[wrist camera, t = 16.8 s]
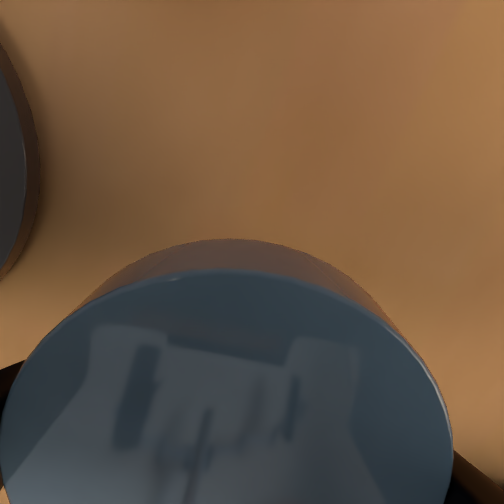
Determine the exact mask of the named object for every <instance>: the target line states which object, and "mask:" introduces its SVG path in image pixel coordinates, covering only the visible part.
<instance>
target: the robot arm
mask: <svg viewBox="0 0 504 504" xmlns="http://www.w3.org/2000/svg"><path fill="white" fill-rule="evenodd" d="M24 362H25V360H23V361H21V362H18V363H16V364H13V365H11V366H8V367H6V368H3V369H1V370H0V424H1V417H2V412H3V408H4V405H5V403H6V400H7V397H8V394H9V391H10V388H11V385H12V383H13V381H14V380H15V378H16V376H17V374H18V372H19V371H20V369H21V367H22V365H23V363H24ZM453 457H454V458H453V466H452V475H451V482H450V485H449V489H448V492H447V495H446V499H445V502H444V504H504V490H503V489H501V488H500V487H499V486H498V485H496V484H495V483H494V482H493V481H492V480H490V479H489V478H488V477H487V476H485V475H484V474H483V473H482V472H480V471H479V470H478V469H477V468H475V467H474V466H473V465H472V464H471V463H469V462H468V461H467V460H466V459H464V458H463V457H462V456H461V455H459V454H458V453H457V452H456V451H454V450H453ZM2 487H3V482H2V476H1V470H0V490H1V489H2Z"/></svg>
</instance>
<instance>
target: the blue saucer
mask: <svg viewBox="0 0 504 504" xmlns="http://www.w3.org/2000/svg"><path fill="white" fill-rule="evenodd" d="M453 458H454V457H453V436H452V429H451V424H450V420H449V415H448V411H447V406H446V404H445V401H444V399H443V396H442V394H441V391H440V389H439V386H438V384H437V382H436V380H435V379H434V377H433V375H432V374H431V372H430V370H429V369H428V367H427V366H426V364H425V362H424V361H423V359H422V358H421V357H420V355H419V354H418V353H417V352H416V350H415V349H414V348H413V347H412V345H411V344H410V343H409V342H408V341H407V339H406V338H405V337H404V336H403V334H402V333H401V332H400V331H399V329H398V328H397V327H396V326H395V325H394V323H393V322H392V321H391V320H390V318H389V317H388V316H387V315H386V313H385V312H384V311H383V310H382V309H381V307H380V306H379V305H378V304H377V303H376V302H375V300H374V299H373V298H372V297H371V296H370V295H369V294H368V293H367V292H366V291H365V290H364V289H363V288H362V287H360V286H359V285H358V284H357V283H356V282H355V281H354V280H353V279H351V278H350V277H348V276H347V275H345V274H344V273H342V272H341V271H339V270H338V269H336V268H335V267H333V266H332V265H330V264H328V263H326V262H324V261H322V260H320V259H318V258H316V257H313V256H311V255H309V254H307V253H304V252H301V251H298V250H295V249H292V248H289V247H286V246H283V245H278V244H273V243H268V242H262V241H257V240H244V239H214V240H201V241H196V242H191V243H186V244H180V245H175V246H172V247H169V248H166V249H163V250H161V251H158V252H155V253H152V254H149V255H147V256H145V257H143V258H141V259H139V260H137V261H135V262H133V263H131V264H129V265H127V266H126V267H124V268H123V269H121V270H120V271H118V272H117V273H115V274H114V275H113V276H111V277H110V278H108V279H107V280H106V281H105V282H104V283H102V284H101V285H100V286H99V287H98V288H97V289H96V290H95V291H94V292H93V293H92V294H91V295H89V296H88V297H87V298H86V299H85V300H84V301H83V302H82V303H81V304H80V305H79V306H78V307H76V308H75V309H74V310H73V311H72V312H71V313H70V314H69V315H68V316H67V317H66V318H65V319H63V320H62V321H61V322H60V323H59V324H58V325H57V326H56V327H55V328H54V329H53V330H52V331H50V332H49V333H48V334H47V335H46V336H45V337H44V338H43V339H42V340H41V341H40V343H39V344H38V345H37V346H36V348H35V349H34V350H33V351H32V353H31V354H30V355H29V356H28V358H27V359H26V360H25V362H24V363H23V365H22V367H21V369H20V371H19V372H18V374H17V376H16V378H15V380H14V381H13V383H12V385H11V388H10V391H9V394H8V397H7V400H6V403H5V405H4V408H3V412H2V417H1V424H0V470H1V476H2V482H3V485H4V488H5V491H6V494H7V497H8V500H9V502H10V504H444V502H445V499H446V495H447V492H448V489H449V485H450V482H451V475H452V466H453Z"/></svg>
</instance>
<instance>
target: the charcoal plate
mask: <svg viewBox="0 0 504 504" xmlns="http://www.w3.org/2000/svg"><path fill="white" fill-rule="evenodd" d="M39 193H40V158H39V149H38V139H37V135H36V130H35V126H34V122H33V117H32V113H31V109H30V107H29V104H28V101H27V98H26V95H25V93H24V90H23V87H22V84H21V82H20V79H19V77H18V75H17V73H16V71H15V69H14V67H13V65H12V63H11V61H10V59H9V57H8V55H7V53H6V51H5V50H4V48H3V46H2V45H1V43H0V280H1V279H2V278H3V277H4V276H5V275H6V274H7V272H8V271H9V270H10V268H11V267H12V265H13V264H14V263H15V261H16V260H17V258H18V257H19V256H20V253H21V251H22V249H23V247H24V245H25V243H26V241H27V239H28V237H29V235H30V232H31V229H32V225H33V222H34V219H35V216H36V211H37V205H38V199H39Z"/></svg>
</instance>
